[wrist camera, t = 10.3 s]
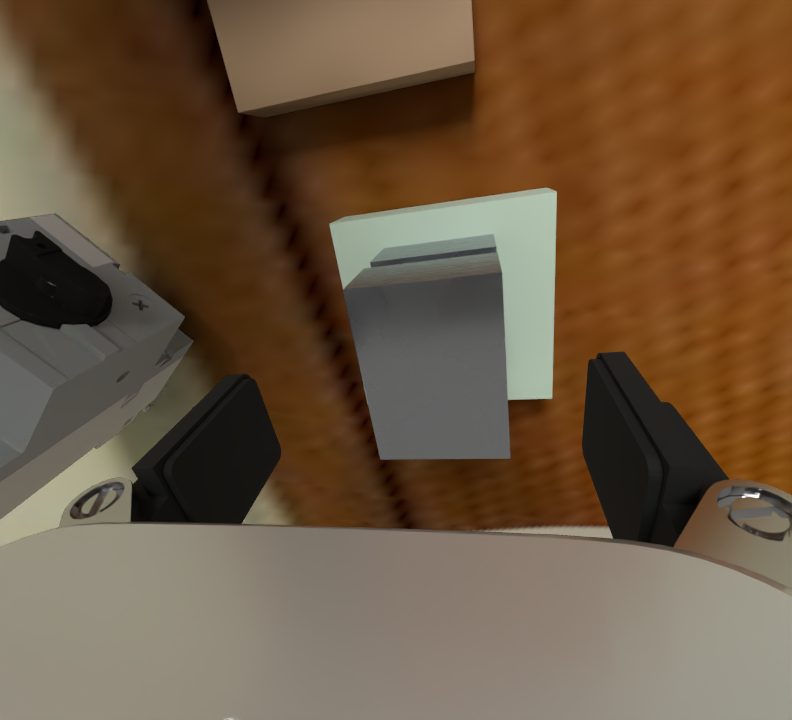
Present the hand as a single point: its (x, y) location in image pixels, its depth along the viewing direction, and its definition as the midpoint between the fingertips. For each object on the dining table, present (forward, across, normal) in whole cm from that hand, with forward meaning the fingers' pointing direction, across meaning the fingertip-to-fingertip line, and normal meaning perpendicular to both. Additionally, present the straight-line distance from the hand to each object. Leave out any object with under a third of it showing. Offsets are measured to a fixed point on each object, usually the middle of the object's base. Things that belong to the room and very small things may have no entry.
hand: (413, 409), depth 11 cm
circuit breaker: (+12, +20, 0) cm, 23 cm away
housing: (+9, 0, +1) cm, 9 cm away
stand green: (+12, 0, +1) cm, 12 cm away
